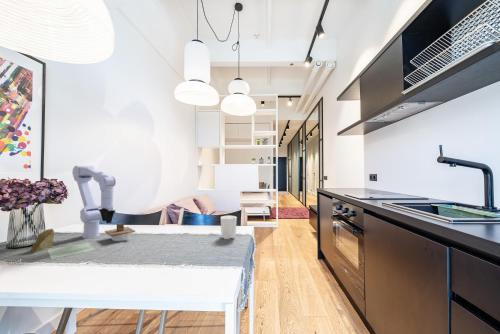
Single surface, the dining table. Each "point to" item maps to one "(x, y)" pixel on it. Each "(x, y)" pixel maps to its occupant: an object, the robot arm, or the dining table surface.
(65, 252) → the mat
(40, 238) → the rock
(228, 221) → the candle holder
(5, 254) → the dining table surface
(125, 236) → the ramekin
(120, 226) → the lid
